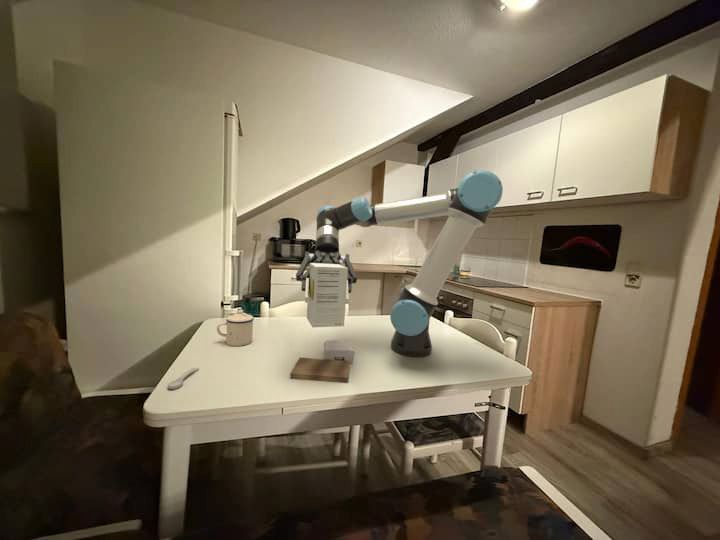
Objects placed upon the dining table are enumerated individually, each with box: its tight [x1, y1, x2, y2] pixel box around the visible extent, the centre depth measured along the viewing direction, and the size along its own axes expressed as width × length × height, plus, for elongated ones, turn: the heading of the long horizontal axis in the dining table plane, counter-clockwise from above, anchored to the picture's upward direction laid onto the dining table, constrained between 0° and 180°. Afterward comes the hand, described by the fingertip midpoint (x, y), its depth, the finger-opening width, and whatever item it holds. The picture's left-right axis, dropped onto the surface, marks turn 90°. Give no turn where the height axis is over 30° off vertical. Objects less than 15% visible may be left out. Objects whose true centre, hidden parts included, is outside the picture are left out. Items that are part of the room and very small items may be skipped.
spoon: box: [167, 367, 200, 390], centre depth 76 cm, size 3×12×2 cm, turn 2°
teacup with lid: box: [216, 309, 254, 347], centre depth 103 cm, size 12×9×12 cm
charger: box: [323, 339, 355, 365], centre depth 99 cm, size 5×9×15 cm
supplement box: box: [306, 262, 349, 328], centre depth 83 cm, size 10×9×17 cm
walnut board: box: [289, 357, 351, 384], centre depth 86 cm, size 16×11×2 cm
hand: (326, 300), depth 81 cm, fingers closed on supplement box, 10 cm apart
